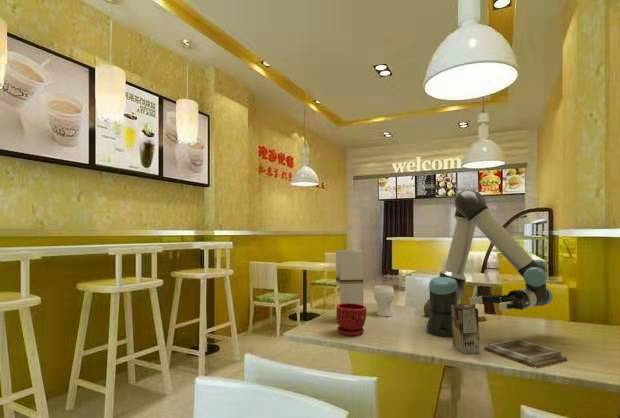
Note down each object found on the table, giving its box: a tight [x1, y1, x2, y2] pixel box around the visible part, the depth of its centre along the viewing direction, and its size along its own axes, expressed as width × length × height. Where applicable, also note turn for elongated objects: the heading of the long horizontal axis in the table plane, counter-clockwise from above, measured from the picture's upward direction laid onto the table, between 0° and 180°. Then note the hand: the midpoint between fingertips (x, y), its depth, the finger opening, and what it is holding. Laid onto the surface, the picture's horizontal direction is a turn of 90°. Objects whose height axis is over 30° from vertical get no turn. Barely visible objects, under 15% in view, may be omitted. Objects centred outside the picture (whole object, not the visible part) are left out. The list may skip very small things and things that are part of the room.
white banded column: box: [335, 249, 364, 320], centre depth 179 cm, size 11×11×35 cm
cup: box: [373, 285, 395, 317], centre depth 190 cm, size 11×11×15 cm
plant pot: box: [336, 303, 367, 336], centre depth 157 cm, size 13×13×12 cm
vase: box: [423, 298, 430, 318], centre depth 186 cm, size 7×7×9 cm
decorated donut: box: [478, 310, 487, 322], centre depth 181 cm, size 10×11×4 cm
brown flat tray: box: [483, 338, 568, 369], centre depth 127 cm, size 20×16×2 cm
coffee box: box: [451, 303, 480, 354], centre depth 134 cm, size 9×6×16 cm
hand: (484, 304), depth 138 cm, fingers open, 13 cm apart
